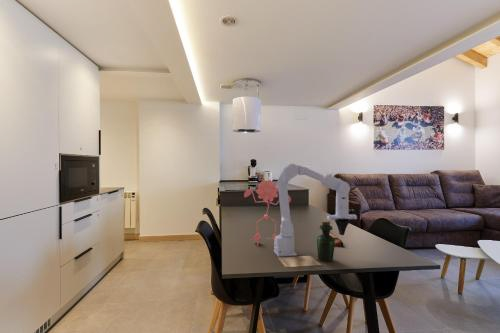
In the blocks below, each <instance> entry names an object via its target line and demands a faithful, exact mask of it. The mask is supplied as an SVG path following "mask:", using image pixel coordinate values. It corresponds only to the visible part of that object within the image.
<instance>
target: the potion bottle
mask: <svg viewBox="0 0 500 333" xmlns="http://www.w3.org/2000/svg"><path fill="white" fill-rule="evenodd" d="M321 222H322V223H321V224H320V225H319V229H320V230H321V232H322V234H319V235H318V236H317V237H316V249H317V259H318V261H319V262H322V263H332V262H333V261H334V253H335V247H334V246H335V239H334V238H333V237H332V236H330V235H329V233H330V232H331V231H332V230H333V226H332V225H330V224H331V220H327V219H324V220H323V219H322V220H321Z"/></svg>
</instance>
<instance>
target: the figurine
mask: <svg viewBox="0 0 500 333" xmlns="http://www.w3.org/2000/svg"><path fill="white" fill-rule="evenodd" d="M257 188H258V189H256V190H255V193H256V194H257V195H258V196H257V197H258V199H260V200H261V201H256V198H255V194H254V191H253V188H252V187H251V188H249V189H247V190H246V191H245V192H244V193H243V195H244V198H247V197H249V196H250V195H252V197H253V200H254V203H266V205H267V210H266V213H265V214H264V215H263V217H262V218H261V219H259V220H257V223H258V222H261V220H268V219H270V220H271V221H272V222H274V223H275V225H277V224H278V223H277V222H276V221H275V220H274V219H272V218H270V216H269V215H268V211H269V208H270V204H271V205H275V206H277V205H279V203H280V201H279V200H278V201H277V202H276V203H274V202H273V201H274V198H279V192H278V186H277V182H276V181H272V180H271V179H268V180H265V179H262V180H261V182H260V183H258V184H257ZM288 200H289V203H291V201H292V198H291V196H290V195H289V194H288ZM258 229H259V228H258V226H256V231H257V232H256V234H255V235H254V236H253V238H252V239H250V240H253V241H254V242H255V243H257V244H256V245H257V246H259V240H260V239H261V233H259V230H258ZM274 229H275V230H274V233H273V234H272V236H271V238H270V237H267V239H270V240H271V239H272V240H273V241H274V238H275V236H278V235H279V234H276V231H277V226H274Z"/></svg>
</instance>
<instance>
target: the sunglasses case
mask: <svg viewBox="0 0 500 333" xmlns="http://www.w3.org/2000/svg"><path fill="white" fill-rule="evenodd" d="M329 235H330V236H332V237H333V238H334V239H335V246H334V248H337V247H338V248H343V247H344V242H343V241H342V240H341V239H340V238H339V237H337V235H335V234H334V233H333V232H332V231H330V233H329Z"/></svg>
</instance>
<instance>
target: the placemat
mask: <svg viewBox="0 0 500 333" xmlns="http://www.w3.org/2000/svg"><path fill="white" fill-rule="evenodd" d="M277 259H278V260H279V261H280V263H281V264H282V265H283V266H284V268H285V269H287V268H299V267H314V266H317V267H319V266H321V265H322V263H319V262H318V261H317V260H316V259H315V258H314V257H313V256H311V255H301V256H300V255H296V256H280V257H277Z"/></svg>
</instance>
